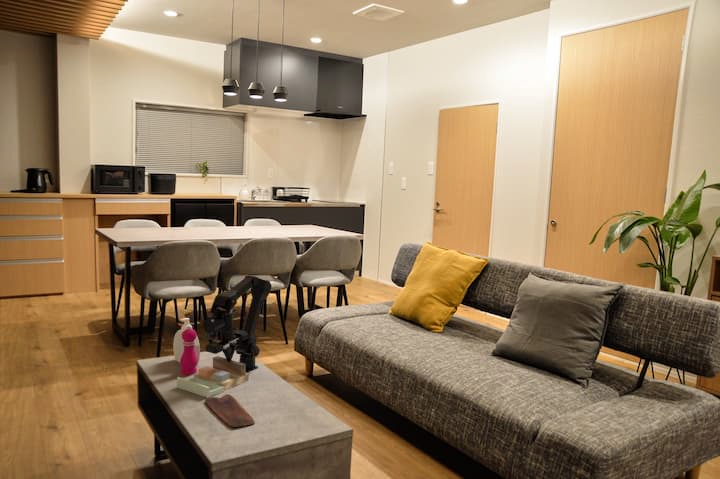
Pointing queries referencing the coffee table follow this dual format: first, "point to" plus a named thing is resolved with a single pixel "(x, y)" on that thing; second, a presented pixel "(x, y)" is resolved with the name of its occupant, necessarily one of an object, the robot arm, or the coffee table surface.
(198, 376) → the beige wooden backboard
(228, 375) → the grey square block
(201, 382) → the tray
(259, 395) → the coffee table surface
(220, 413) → the wooden tablet
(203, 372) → the terracotta tile
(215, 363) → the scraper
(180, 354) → the soap bottle
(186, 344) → the pepper mill
